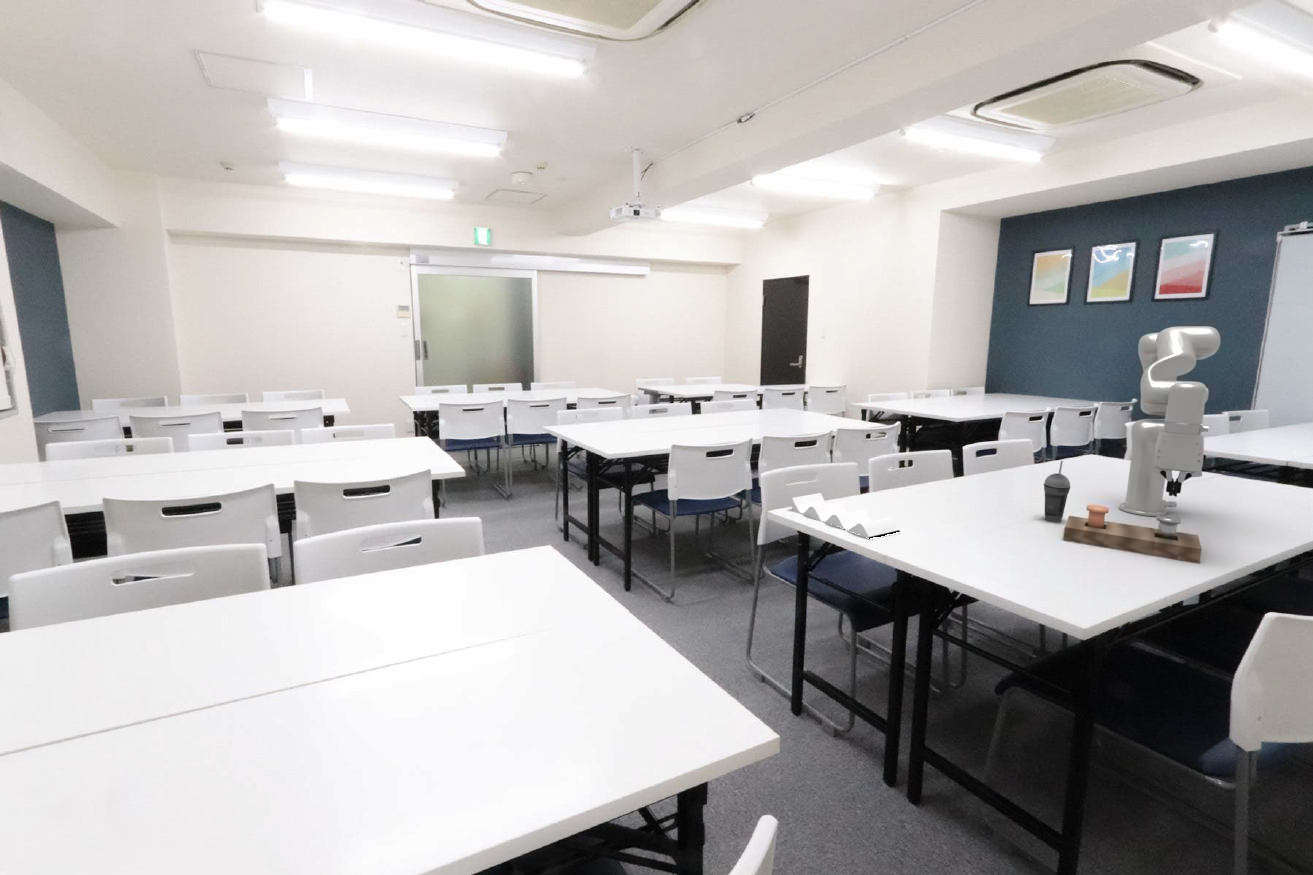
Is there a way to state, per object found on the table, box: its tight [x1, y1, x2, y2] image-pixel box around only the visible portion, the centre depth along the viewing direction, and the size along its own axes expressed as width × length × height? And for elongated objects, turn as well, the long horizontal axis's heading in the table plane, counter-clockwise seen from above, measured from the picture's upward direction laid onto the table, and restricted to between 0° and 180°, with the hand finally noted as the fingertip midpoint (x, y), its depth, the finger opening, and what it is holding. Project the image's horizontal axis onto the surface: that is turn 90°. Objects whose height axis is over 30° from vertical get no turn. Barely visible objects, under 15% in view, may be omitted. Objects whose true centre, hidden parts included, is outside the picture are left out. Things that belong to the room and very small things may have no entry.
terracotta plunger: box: [1086, 504, 1110, 529], centre depth 177 cm, size 5×5×6 cm
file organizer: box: [791, 492, 901, 540], centre depth 195 cm, size 13×35×5 cm, turn 28°
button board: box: [1062, 515, 1203, 564], centre depth 173 cm, size 30×14×4 cm, turn 52°
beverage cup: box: [1043, 460, 1071, 524], centre depth 193 cm, size 7×7×20 cm
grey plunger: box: [1155, 514, 1182, 540], centre depth 167 cm, size 5×5×6 cm
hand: (1172, 495), depth 165 cm, fingers closed
